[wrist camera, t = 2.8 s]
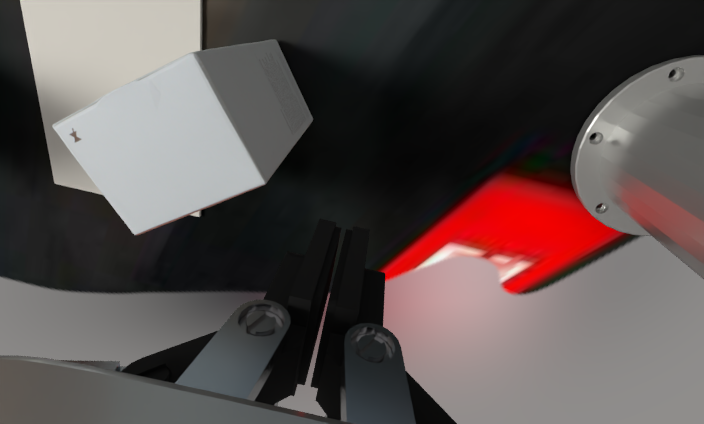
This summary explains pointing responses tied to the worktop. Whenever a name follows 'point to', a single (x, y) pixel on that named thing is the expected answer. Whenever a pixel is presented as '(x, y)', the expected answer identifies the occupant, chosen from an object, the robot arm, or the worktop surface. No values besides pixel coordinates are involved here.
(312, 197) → the worktop surface
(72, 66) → the mat
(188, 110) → the small box
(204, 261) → the worktop surface
